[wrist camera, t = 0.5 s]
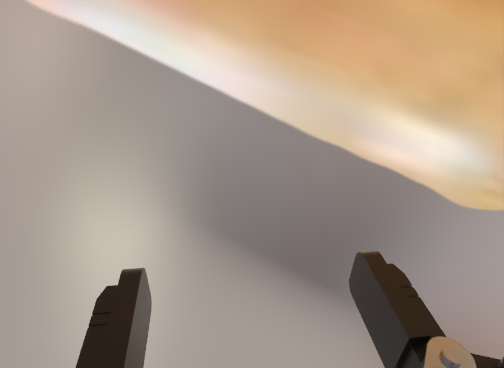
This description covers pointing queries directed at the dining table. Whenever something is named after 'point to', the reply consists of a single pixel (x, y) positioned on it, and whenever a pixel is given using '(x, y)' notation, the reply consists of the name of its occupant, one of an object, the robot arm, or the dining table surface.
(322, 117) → the dining table surface
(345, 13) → the dining table surface
